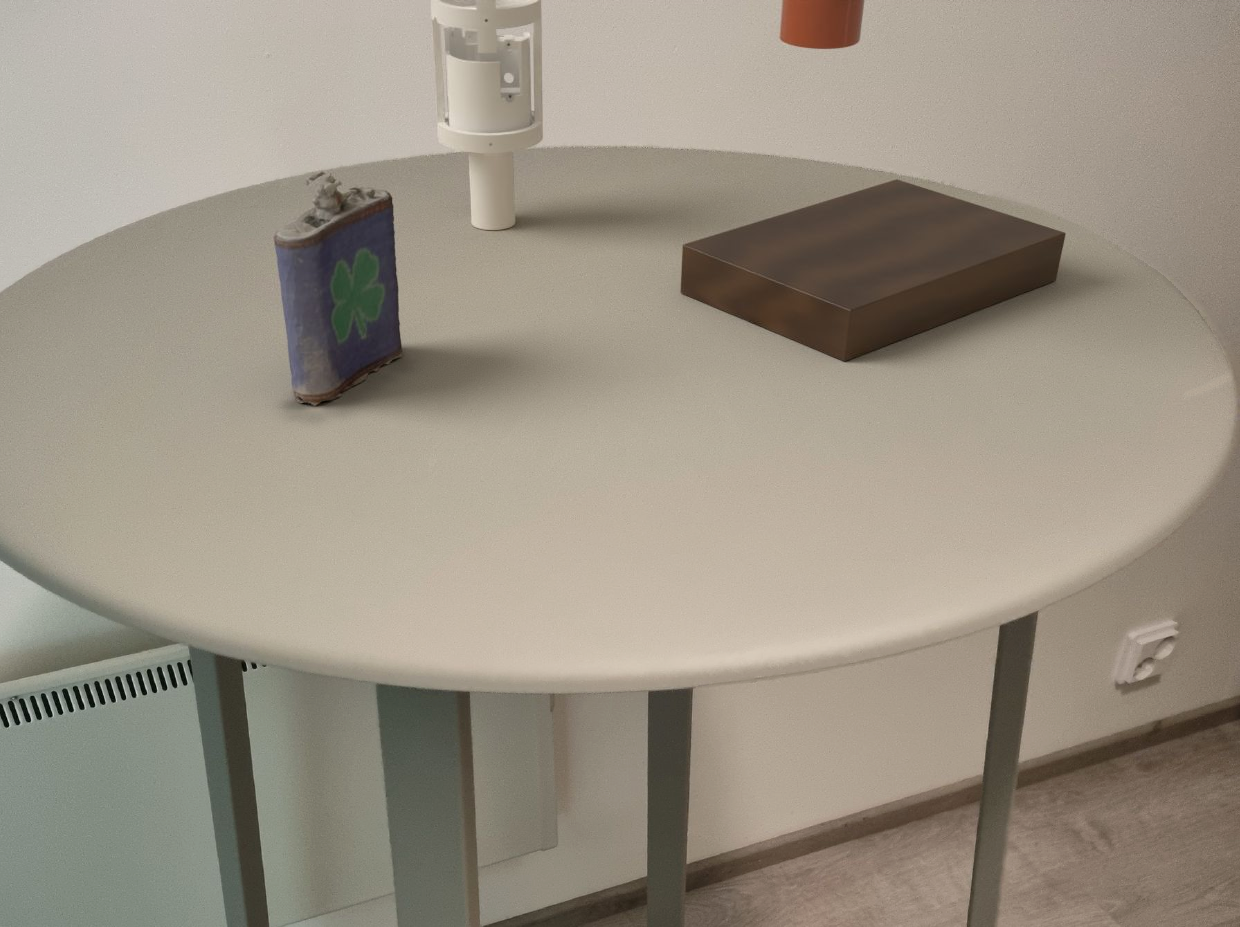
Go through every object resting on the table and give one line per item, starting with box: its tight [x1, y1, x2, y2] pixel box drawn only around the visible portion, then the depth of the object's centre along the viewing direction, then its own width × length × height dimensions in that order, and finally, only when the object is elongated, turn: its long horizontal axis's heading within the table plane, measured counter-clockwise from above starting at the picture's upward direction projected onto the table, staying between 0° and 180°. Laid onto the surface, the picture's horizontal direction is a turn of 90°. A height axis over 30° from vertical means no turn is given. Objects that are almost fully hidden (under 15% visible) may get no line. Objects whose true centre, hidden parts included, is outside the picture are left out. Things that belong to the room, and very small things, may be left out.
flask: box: [273, 170, 403, 406], centre depth 82 cm, size 9×3×11 cm, turn 151°
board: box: [680, 179, 1067, 362], centre depth 95 cm, size 14×20×3 cm
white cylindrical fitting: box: [429, 0, 544, 231], centre depth 100 cm, size 7×7×15 cm
